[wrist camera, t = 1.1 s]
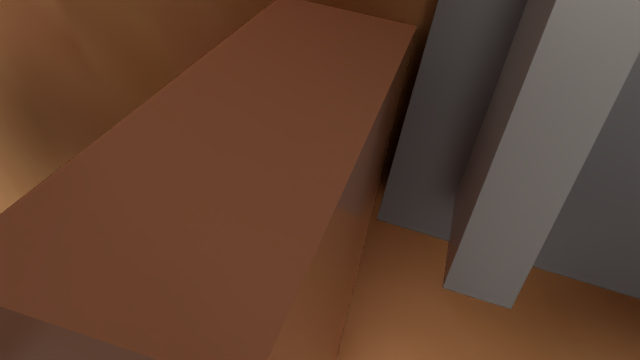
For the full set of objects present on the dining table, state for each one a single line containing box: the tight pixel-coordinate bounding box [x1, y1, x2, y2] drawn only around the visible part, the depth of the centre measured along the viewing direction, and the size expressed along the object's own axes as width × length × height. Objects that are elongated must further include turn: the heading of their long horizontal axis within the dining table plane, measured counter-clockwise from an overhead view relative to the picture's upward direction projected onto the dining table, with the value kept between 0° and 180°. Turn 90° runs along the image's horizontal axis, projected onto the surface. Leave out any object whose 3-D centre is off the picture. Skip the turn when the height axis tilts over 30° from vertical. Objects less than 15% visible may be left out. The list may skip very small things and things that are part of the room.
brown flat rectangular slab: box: [0, 0, 417, 360], centre depth 10 cm, size 2×9×8 cm, turn 172°
